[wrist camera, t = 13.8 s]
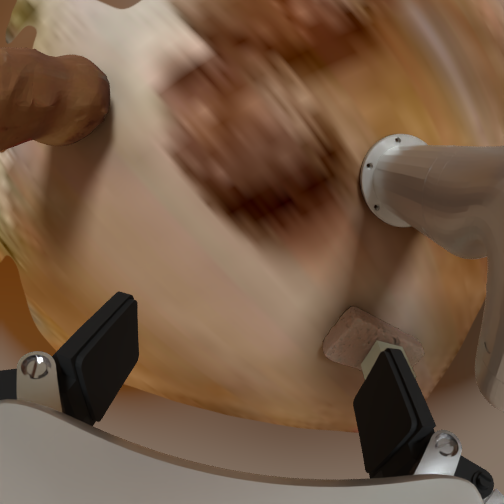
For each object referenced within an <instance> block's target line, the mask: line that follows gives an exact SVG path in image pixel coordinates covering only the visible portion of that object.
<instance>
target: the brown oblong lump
mask: <svg viewBox="0 0 504 504" xmlns="http://www.w3.org/2000/svg"><path fill="white" fill-rule="evenodd" d="M109 104H110V85H109V81H108V79H107V76H106V75H105V74H104V73H103V72H102V71H101V70H100V69H99V68H98V67H97V66H96V65H95V64H94V63H92V62H91V61H90V60H88V59H87V58H84V57H82V56H78V55H64V56H59V57H52V56H48V55H45V54H43V53H41V52H39V51H37V50H36V49H29V48H0V151H2V150H5V149H8V148H11V147H14V146H17V145H19V144H22V143H24V142H27V141H30V140H35V141H37V142H40V143H43V144H46V145H52V146H64V145H69V144H72V143H75V142H77V141H79V140H81V139H82V138H84V137H86V136H87V135H88V134H90V133H91V132H92V131H93V130H94V129H95V128H96V127H97V126H98V125H99V124H100V123H102V122H103V121H104V117H105V114H106V113H108V109H109Z"/></svg>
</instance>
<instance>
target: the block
mask: <svg viewBox="0 0 504 504" xmlns="http://www.w3.org/2000/svg"><path fill="white" fill-rule="evenodd" d="M386 348H393V349H400V350H401V351H402V353H403V355H404V357H405V359H406V361H407V363H408V365H409V367H410V369H411V371H412V373H413V375H414V377H415V378H416V375H415V373H414V371H413V368H412V366H411V364H410V362H409V360H408V358H407V356H406V353H405V351H404V349H403V347H401V346H397V345H393V344H389V343H385V342H382V341H378V340H376V342H375V344H374V345H373V347H372V348H371V350H370V351H369V353H368V354H367V356H366V357H365V359H364V360H363V362H362V363H361V368H362V371H363V375H364V379H365V380H366V378H367V376H368V374H369V373H370V371H371V369H372V367H373V365H374V363H375V362H376V360H377V358H378V356H379V354H380V352H382V351H384V350H385V349H386Z"/></svg>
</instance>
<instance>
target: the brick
mask: <svg viewBox="0 0 504 504" xmlns="http://www.w3.org/2000/svg"><path fill="white" fill-rule="evenodd" d="M376 340H378V341H382V342H385V343H389V344H393V345H397V346H401V347H403V349H404V351H405V353H406V356H407V358H408V360H409V362H410V364H411V366H412V368H413V366H414V365H416V364H417V362H418V361H419V360H420V359H421V358H422V357H423V355H424V349H423V348H422V345H421V343H420V342H419V341H418V340H417V339H416V338H415V337H413V336H411V335H409V334H406V333H403V332H402V331H400V330H399V329H398V328H394V327H392V326H391V325H390V324H387V323H386V322H384V321H381V320H380V319H378V318H376V317H374V316H372V315H370V314H368V313H367V312H364V311H362V310H360V309H359V308H357V307H355V306H354V307H350V308H349V309H348V310H347V311H345V312H344V314H343V315H342V316H341V317H340V319H339V320H338V322H337V323H336V324H335V325H334V326H333V327H332V328H331V330H330V332H329V334H328V335H327V336H326V337H325V339H324V341H323V351H324V354H325V356H326V357H327V358H329V359H330V360H331V361H334V362H337V363H340V364H343V365H347V366H350V367H352V368H357V369H359V370H360V371H362V368H361V363H362V362H363V360H364V359H365V357H366V356H367V354H368V353H369V351H370V350H371V348H372V347H373V345H374V344H375V342H376ZM362 372H363V371H362Z"/></svg>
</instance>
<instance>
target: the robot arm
mask: <svg viewBox="0 0 504 504" xmlns="http://www.w3.org/2000/svg"><path fill="white" fill-rule="evenodd" d="M395 139H397V142H396V141H395ZM367 164H369V168H367ZM360 185H361V190H362V194H363V197H364V200H365V202H366V203H367V205H368V207H369V209H370V210H371V211H372V212H373V213H374V214H375V215H376V216H377V217H378V218H379V219H381V220H382V221H384V222H385V223H387V224H390V225H392V226H396V227H411V226H412V227H414V228H415V229H417V230H418V231H420V232H421V233H423V234H424V235H426V236H427V237H428V238H430V239H431V240H433V241H434V242H436V243H437V244H438V245H440V246H442V247H443V248H444V249H446V250H447V251H449V252H450V253H452V254H454V255H456V256H458V257H461V258H465V259H479V258H483V257H486V256H487V259H488V272H487V284H486V291H487V292H486V301H485V308H484V315H483V321H482V327H481V332H480V337H479V343H478V347H477V354H476V360H475V376H476V381H477V385H478V388H479V390H480V392H481V394H482V395H483V397H484V398H485V399H486V400H487V401H488V402H489V403H490V404H491V405H492V406H494V407H495V408H497V409H498V410H500V411H503V412H504V146H496V147H474V146H444V145H427V144H426V143H425V142H424V141H422V140H420V139H419V138H417V137H414V136H412V135H407V134H395V135H390V136H387V137H385V138H382V139H381V140H379V141H378V142H376V143H375V144H374V145H373V146H372V147H371V148H370V150H369V151H368V153H367V154H366V156H365V158H364V161H363V164H362V167H361V173H360ZM375 205H377V207H376V208H374V206H375ZM138 357H139V346H138V319H137V301H136V300H134V298H133V296H132V295H129V294H126V293H123V292H117V293H116V294H115V295H114V296H113V297H112V298H111V299H110V300H108V301H107V302H106V303H105V304H104V305H103V306H102V307H101V308H100V309H99V310H98V311H97V312H96V313H95V314H94V315H93V316H92V317H91V318H90V319H89V320H87V321H86V322H85V323H84V324H83V325H82V326H81V327H80V328H79V329H78V330H77V331H76V332H75V333H74V334H73V335H72V336H71V337H70V338H69V339H68V341H67V342H66V343H65V344H64V345H63V346H62V347H61V348H60V349H59V350H58V351H57V352H56V353H55V354H54V355H53V356H52V357H51V356H50V355H48V354H47V353H44V352H31V353H28V354H26V355H25V356H23V357H22V358H21V359H20V361H19V362H18V365H17V369H11V370H3V371H0V504H504V496H503V495H502V494H501V493H500V492H499V491H498V490H497V489H495V490H494V491H493V487H494V482H493V478H492V476H491V475H490V473H489V472H487V471H486V470H485V469H483V468H481V467H479V466H478V465H476V464H474V463H473V462H471V461H469V460H468V459H466V458H464V457H463V456H461V450H462V446H461V443H460V441H459V439H458V438H457V436H456V435H455V434H453V433H452V432H450V431H447V430H439V431H437V432H434V429H433V428H434V427H435V426H436V425H435V422H434V420H433V418H432V415H431V413H430V410H429V408H428V406H427V404H426V401H425V399H424V397H423V395H422V392H421V390H420V388H419V386H418V384H417V381H416V379H415V377H414V375H413V373H412V371H411V369H410V367H409V365H408V363H407V361H406V359H405V357H404V355H403V353H402V351H401V350H400V349H393V348H386V349H385V350H384V351H382V352H380V354H379V356H378V358H377V360H376V362H375V363H374V365H373V367H372V369H371V371H370V373H369V374H368V376H367V378H366V380H365V381H364V383H363V385H362V386H361V388H360V390H359V392H358V393H357V395H356V397H355V399H354V402H353V406H354V411H355V416H356V421H357V426H358V431H359V436H360V442H361V447H362V453H363V458H364V464H365V470H366V472H367V473H369V475H370V479H353V480H352V479H351V480H321V479H320V480H319V479H299V478H286V477H276V476H267V475H259V474H252V473H245V472H239V471H234V470H228V469H223V468H218V467H214V466H209V465H205V464H201V463H197V462H193V461H188V460H185V459H181V458H178V457H174V456H171V455H167V454H164V453H161V452H158V451H155V450H152V449H149V448H146V447H143V446H140V445H138V444H135V443H132V442H129V441H127V440H124V439H122V438H119V437H117V436H114V435H111V434H109V433H107V432H104V431H102V430H100V429H97V428H95V427H93V425H94V423H95V422H96V421H98V422H99V421H100V420H101V419H102V418H103V416H104V414H105V412H106V411H107V409H108V408H109V406H110V404H111V403H112V401H113V400H114V398H115V396H116V395H117V393H118V391H119V390H120V388H121V387H122V385H123V383H124V382H125V380H126V379H127V377H128V375H129V374H130V372H131V371H132V369H133V368H134V366H135V364H136V363H137V361H138Z"/></svg>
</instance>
